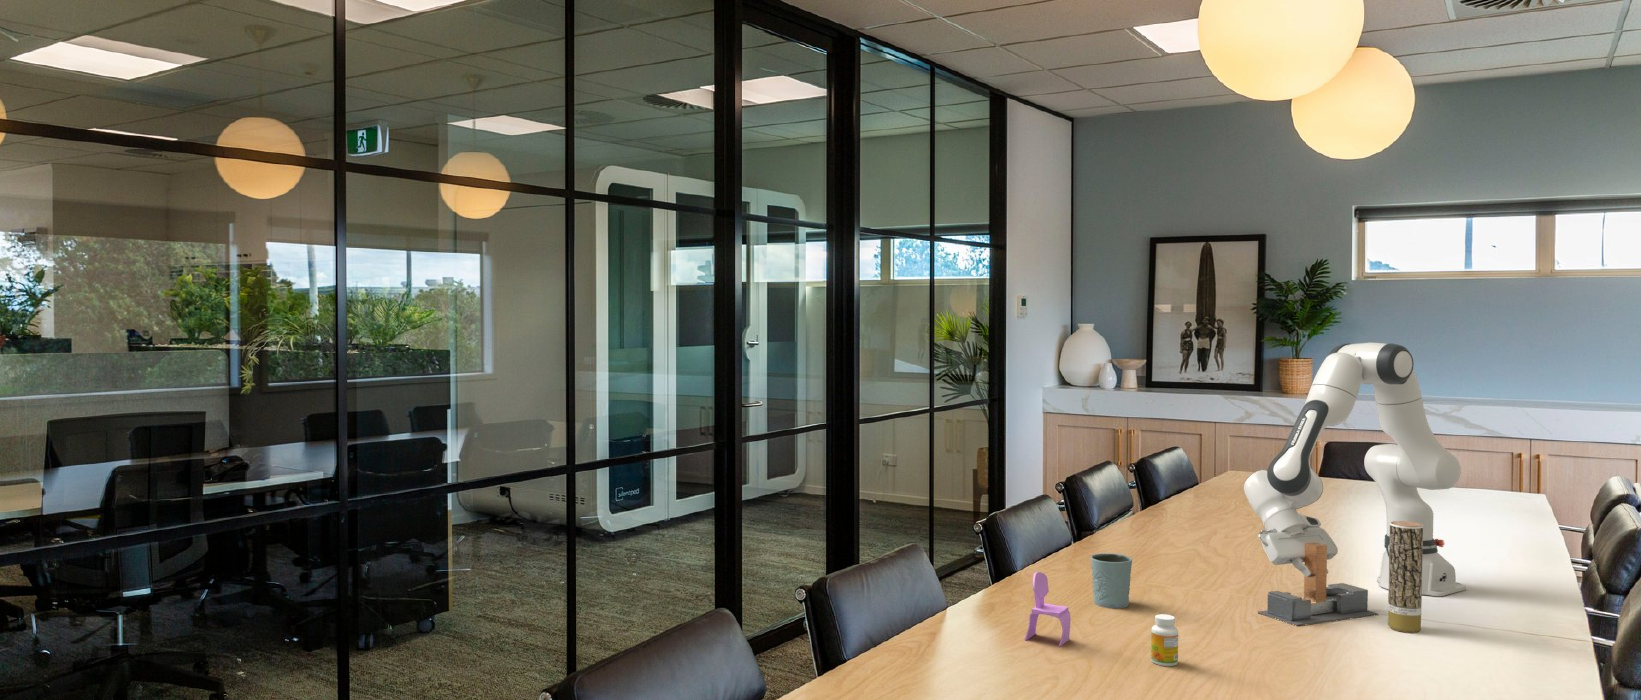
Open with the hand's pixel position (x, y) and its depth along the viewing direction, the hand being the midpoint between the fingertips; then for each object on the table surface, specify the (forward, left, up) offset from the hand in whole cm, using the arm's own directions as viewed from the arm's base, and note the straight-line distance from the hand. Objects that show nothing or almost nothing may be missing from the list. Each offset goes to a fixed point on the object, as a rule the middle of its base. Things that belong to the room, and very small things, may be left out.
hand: (1317, 575), depth 253 cm
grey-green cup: (+41, -27, -10) cm, 50 cm away
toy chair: (+74, -7, -10) cm, 75 cm away
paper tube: (-10, +16, -10) cm, 21 cm away
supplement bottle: (+60, +15, -10) cm, 63 cm away
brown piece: (-4, -1, -9) cm, 10 cm away
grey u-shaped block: (-9, -1, -10) cm, 14 cm away
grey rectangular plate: (-1, -1, -10) cm, 10 cm away
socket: (+8, -1, -10) cm, 13 cm away
